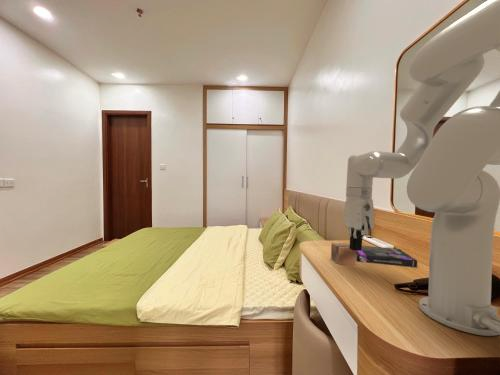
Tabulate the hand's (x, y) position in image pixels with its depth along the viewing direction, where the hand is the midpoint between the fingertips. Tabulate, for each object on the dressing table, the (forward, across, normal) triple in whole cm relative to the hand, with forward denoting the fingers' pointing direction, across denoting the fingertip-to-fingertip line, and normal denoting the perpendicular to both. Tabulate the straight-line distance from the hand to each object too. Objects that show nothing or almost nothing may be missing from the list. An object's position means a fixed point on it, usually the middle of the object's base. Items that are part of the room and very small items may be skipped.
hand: (355, 249), depth 72 cm
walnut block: (+4, +5, 0) cm, 6 cm away
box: (+8, +12, -17) cm, 22 cm away
